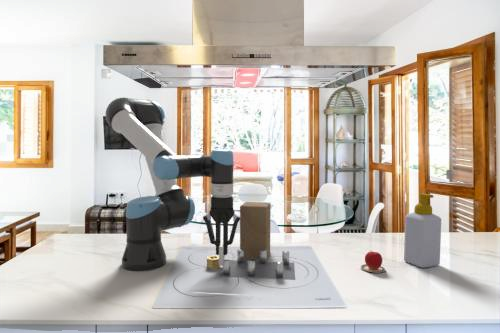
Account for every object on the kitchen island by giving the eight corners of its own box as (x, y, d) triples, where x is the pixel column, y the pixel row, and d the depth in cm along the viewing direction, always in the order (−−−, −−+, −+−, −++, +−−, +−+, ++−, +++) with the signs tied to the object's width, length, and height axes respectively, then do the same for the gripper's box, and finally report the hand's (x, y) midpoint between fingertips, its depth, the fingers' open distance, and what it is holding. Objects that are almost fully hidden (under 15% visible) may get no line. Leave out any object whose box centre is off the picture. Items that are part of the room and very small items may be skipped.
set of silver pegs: (222, 275, 114) (222, 261, 114) (229, 260, 128) (229, 248, 128) (289, 278, 112) (289, 264, 112) (289, 263, 126) (289, 250, 126)
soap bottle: (422, 269, 121) (424, 196, 120) (402, 261, 130) (404, 192, 128) (441, 265, 125) (444, 195, 123) (420, 258, 133) (422, 191, 132)
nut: (204, 267, 122) (203, 257, 122) (212, 264, 126) (211, 254, 126) (215, 270, 120) (215, 260, 119) (223, 266, 123) (223, 256, 123)
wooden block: (266, 261, 130) (266, 206, 128) (239, 259, 132) (239, 205, 130) (270, 252, 139) (270, 202, 138) (245, 251, 141) (245, 201, 140)
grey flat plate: (219, 277, 113) (219, 276, 113) (227, 261, 129) (227, 260, 129) (295, 280, 111) (295, 279, 111) (294, 263, 127) (294, 262, 127)
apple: (355, 267, 124) (356, 248, 123) (374, 264, 126) (374, 246, 126) (371, 275, 116) (371, 255, 116) (390, 272, 119) (391, 253, 119)
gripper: (200, 196, 117) (200, 267, 118) (239, 197, 115) (239, 268, 117) (205, 193, 124) (205, 259, 126) (242, 194, 123) (241, 261, 125)
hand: (221, 264), depth 121 cm, fingers closed
